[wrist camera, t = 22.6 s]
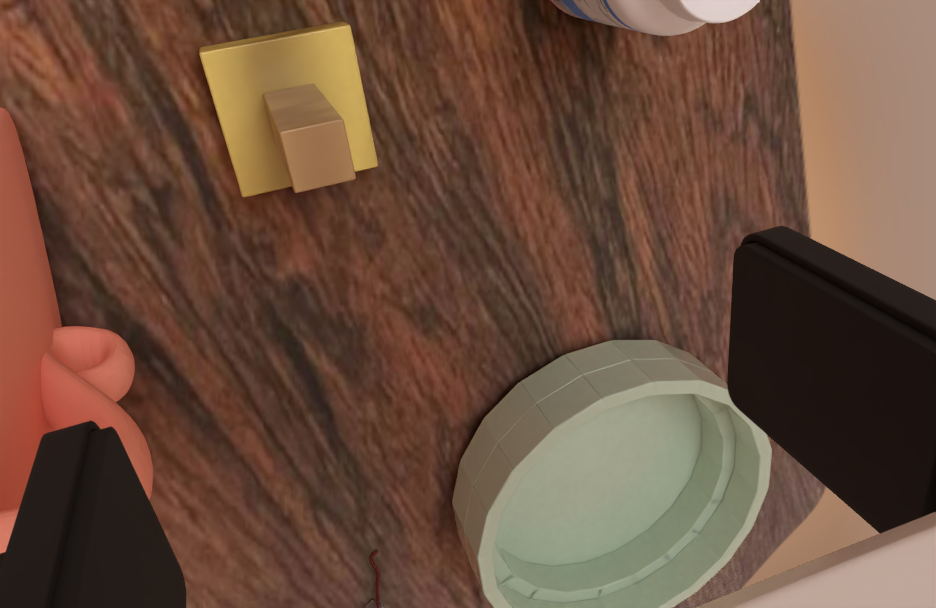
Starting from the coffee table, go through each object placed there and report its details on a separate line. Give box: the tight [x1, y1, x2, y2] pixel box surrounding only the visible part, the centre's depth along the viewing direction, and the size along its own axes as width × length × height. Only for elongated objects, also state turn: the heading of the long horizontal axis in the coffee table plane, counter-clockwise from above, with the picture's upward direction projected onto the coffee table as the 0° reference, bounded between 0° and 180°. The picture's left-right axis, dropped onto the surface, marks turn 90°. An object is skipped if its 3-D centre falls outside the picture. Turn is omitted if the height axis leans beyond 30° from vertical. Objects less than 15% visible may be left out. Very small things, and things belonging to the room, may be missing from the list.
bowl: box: [452, 340, 772, 608], centre depth 42 cm, size 18×18×5 cm
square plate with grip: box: [199, 21, 378, 197], centre depth 26 cm, size 6×6×8 cm
